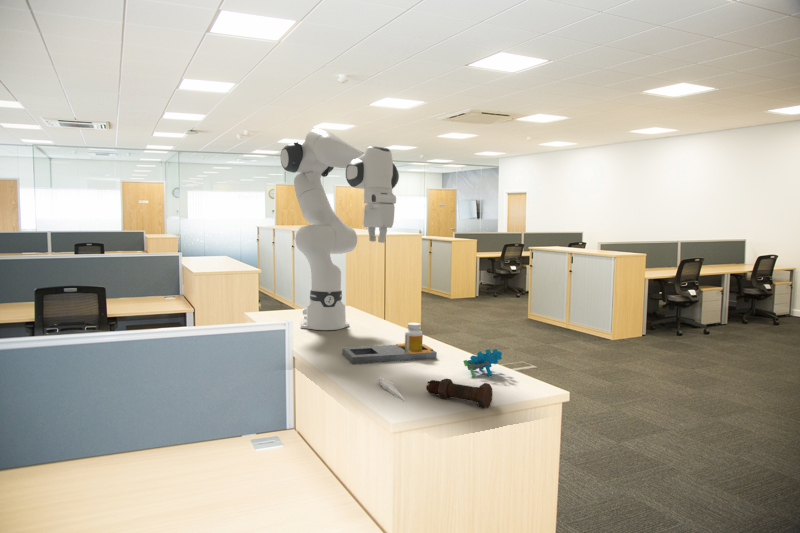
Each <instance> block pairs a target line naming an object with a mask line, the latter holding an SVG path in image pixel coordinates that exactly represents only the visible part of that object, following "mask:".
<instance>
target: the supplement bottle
mask: <svg viewBox="0 0 800 533" xmlns="http://www.w3.org/2000/svg"><path fill="white" fill-rule="evenodd" d="M421 325H422V324H421V323H419V322H408V323H407V329H406V331H405V333H404V343H405V351H414V350H422V344H423V333H424V332H423V331H422V330H421V328H422V327H421Z"/></svg>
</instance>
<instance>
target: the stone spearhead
mask: <svg viewBox="0 0 800 533" xmlns="http://www.w3.org/2000/svg"><path fill="white" fill-rule="evenodd" d="M378 380H379V381H380V382H379V384H380V386H382V389H383V390H385V391H388V392H389V393H390V394H392V395H393V396H395V397H396V398H399V399H400V400H402V401H403V402H406V399H405V398H404V396H403V395H402V394H401V393H400V391H399V390H398V389H397V387H395V384H394V382H393V381H390V380H387V379H386V378H383V376H379V377H378Z"/></svg>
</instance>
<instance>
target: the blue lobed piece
mask: <svg viewBox="0 0 800 533" xmlns="http://www.w3.org/2000/svg"><path fill="white" fill-rule="evenodd" d="M476 354H477V355H471V356H470V358H469V359H468V360H467V359H464V360H463V364H464V367H466V368H467V370H468V371H470V374H471V376H472V378H475V377H476V375H475V371H477V370H479V371H483V370H484V369H485V370H486V373H487V376H488V377H489V376H491V377H492V376H493V373H492V371H491V368H492V367H493V366H492V364H493V365H497V364H499V361H500V360H502V359H503V358H502V356H503V353H502V351H501V350H498V348H493V349H492V351H491V349H490V348H487V349H485V352H484V353H483V352H482V351H477V353H476Z"/></svg>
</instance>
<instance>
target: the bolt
mask: <svg viewBox="0 0 800 533" xmlns="http://www.w3.org/2000/svg"><path fill="white" fill-rule="evenodd" d="M425 386H426V391H427V392H428V394H431V395H437V396H438V397H439V399H441V400H449V399H451V398H454V399H459V400H464V401H470V402H474V403H476V404H477V405H478V407H479V408H480V409H484V410H485V409H488V408H490V406H491V403H492V401H493V387H492V386H491V384H490V383H488V382H484V383H482V384H481V385H480V386H471V385H465V384H459V383H454V382H453V381H452V379H451V378H447V377H446V378H443V379H441V380H436V379H435V380H434V379H431V380H429V381H427V385H425Z"/></svg>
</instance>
